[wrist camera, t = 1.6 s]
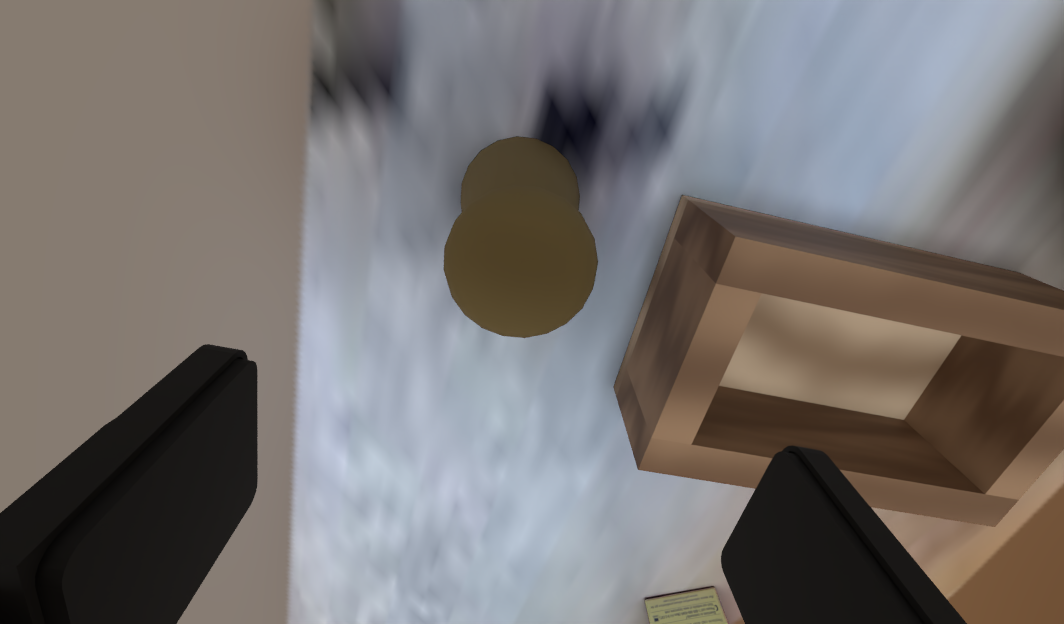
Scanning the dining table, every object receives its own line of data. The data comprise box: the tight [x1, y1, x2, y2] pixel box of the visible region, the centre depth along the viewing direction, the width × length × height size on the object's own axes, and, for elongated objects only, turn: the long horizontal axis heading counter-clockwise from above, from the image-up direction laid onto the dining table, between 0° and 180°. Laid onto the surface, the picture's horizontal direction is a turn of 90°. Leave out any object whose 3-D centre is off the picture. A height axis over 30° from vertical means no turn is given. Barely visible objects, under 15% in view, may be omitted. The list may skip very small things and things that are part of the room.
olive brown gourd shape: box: [444, 137, 598, 338], centre depth 20 cm, size 6×6×11 cm
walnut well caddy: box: [614, 195, 1064, 527], centre depth 26 cm, size 12×20×7 cm, turn 77°
